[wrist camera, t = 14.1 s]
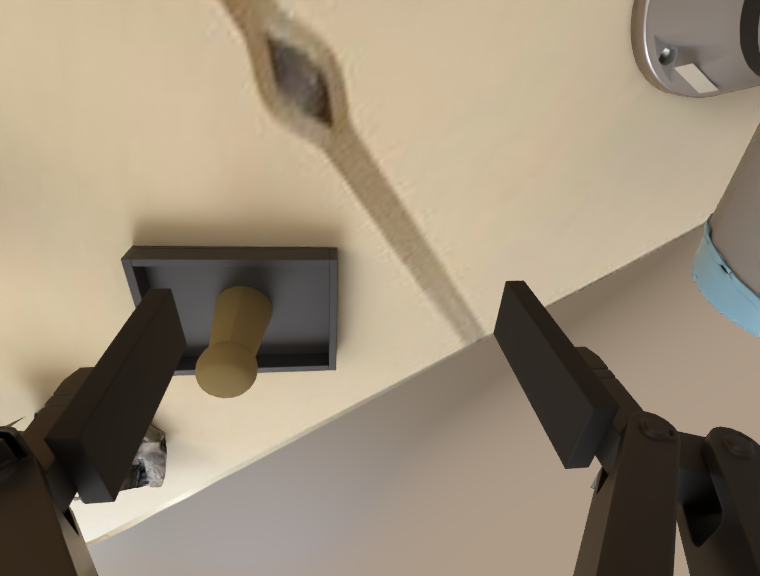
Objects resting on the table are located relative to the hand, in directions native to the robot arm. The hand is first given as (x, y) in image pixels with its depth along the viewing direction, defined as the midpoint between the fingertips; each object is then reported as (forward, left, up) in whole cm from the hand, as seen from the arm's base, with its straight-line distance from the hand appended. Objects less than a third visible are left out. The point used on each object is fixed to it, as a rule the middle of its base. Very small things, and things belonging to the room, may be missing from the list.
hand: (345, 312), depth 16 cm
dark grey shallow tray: (+9, +17, -24) cm, 31 cm away
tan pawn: (+9, +17, -24) cm, 31 cm away
